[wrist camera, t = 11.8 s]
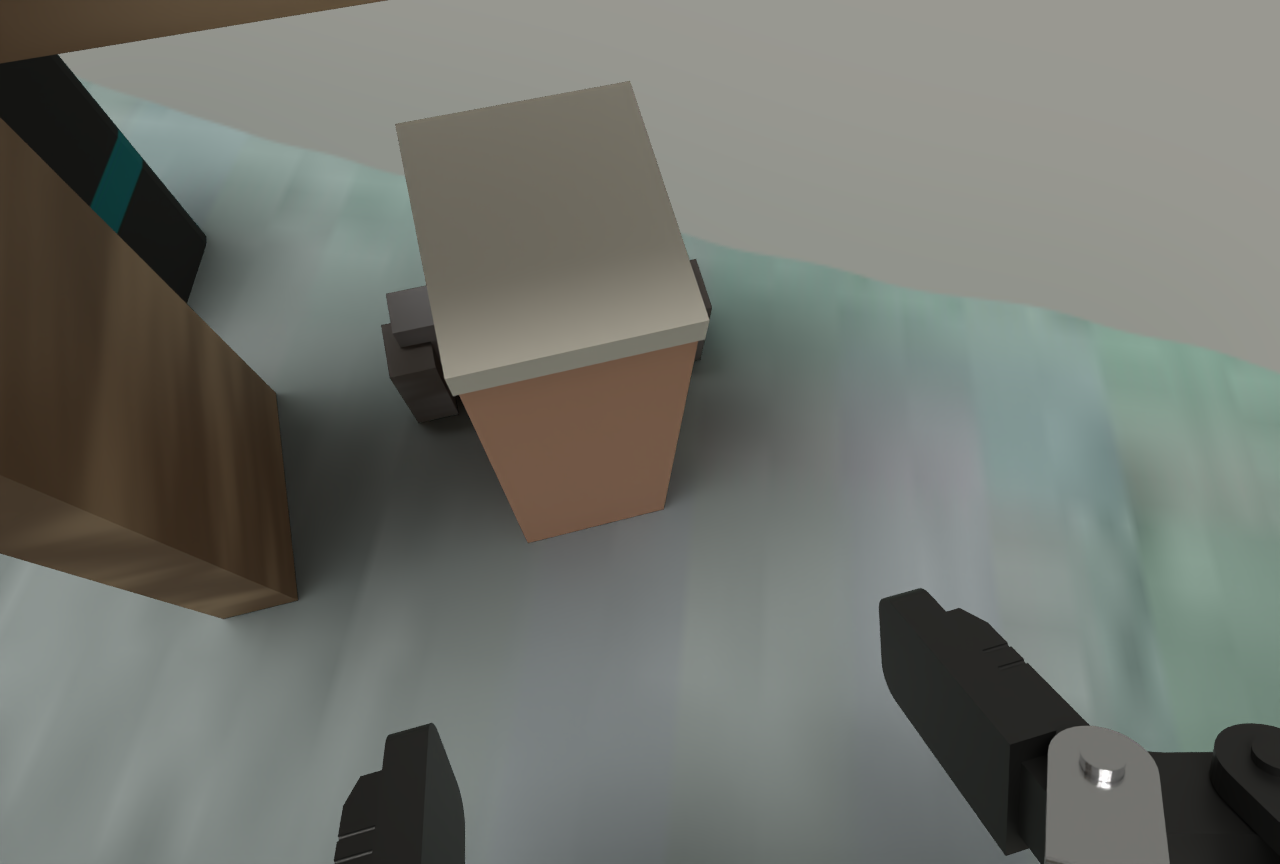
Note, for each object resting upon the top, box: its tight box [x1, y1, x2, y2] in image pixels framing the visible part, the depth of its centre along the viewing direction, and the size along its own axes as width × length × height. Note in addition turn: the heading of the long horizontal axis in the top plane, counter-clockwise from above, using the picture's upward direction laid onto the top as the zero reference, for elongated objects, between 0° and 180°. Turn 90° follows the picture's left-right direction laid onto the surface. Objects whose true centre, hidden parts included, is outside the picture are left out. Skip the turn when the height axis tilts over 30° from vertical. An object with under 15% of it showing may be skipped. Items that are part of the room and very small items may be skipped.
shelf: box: [0, 0, 712, 619], centre depth 18 cm, size 18×8×24 cm, turn 105°
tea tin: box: [395, 81, 709, 543], centre depth 23 cm, size 5×6×14 cm
